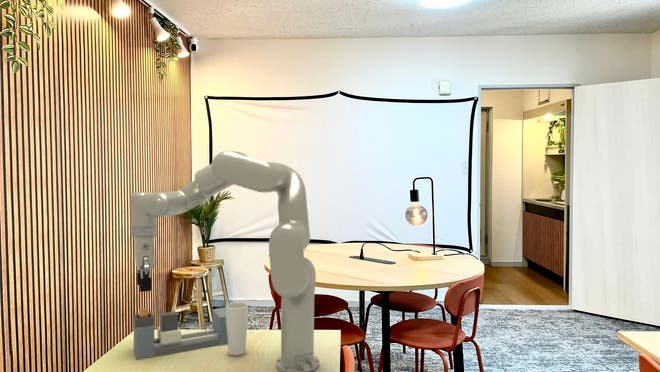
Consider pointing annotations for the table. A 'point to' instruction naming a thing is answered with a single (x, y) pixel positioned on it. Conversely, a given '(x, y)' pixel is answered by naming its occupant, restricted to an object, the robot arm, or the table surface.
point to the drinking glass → (236, 327)
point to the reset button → (143, 313)
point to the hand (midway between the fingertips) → (144, 287)
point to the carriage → (168, 328)
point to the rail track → (190, 341)
